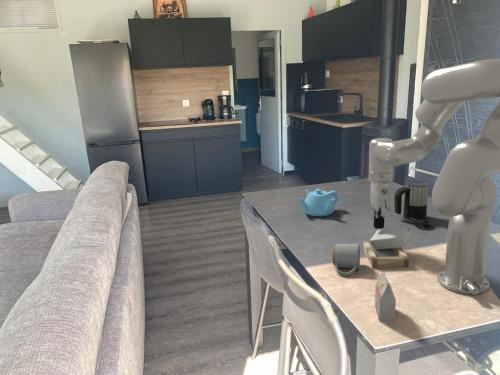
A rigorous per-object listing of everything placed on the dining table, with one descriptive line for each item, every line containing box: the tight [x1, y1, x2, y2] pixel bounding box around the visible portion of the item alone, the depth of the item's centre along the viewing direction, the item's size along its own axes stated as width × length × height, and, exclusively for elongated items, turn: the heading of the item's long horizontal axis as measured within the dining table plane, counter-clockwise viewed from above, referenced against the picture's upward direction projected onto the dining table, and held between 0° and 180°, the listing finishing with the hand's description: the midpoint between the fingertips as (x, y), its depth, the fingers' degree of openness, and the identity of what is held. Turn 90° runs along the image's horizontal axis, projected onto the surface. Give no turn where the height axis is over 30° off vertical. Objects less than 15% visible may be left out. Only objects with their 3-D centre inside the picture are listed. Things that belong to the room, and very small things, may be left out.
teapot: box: [297, 188, 339, 218], centre depth 169 cm, size 15×15×11 cm
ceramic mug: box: [331, 243, 361, 277], centre depth 119 cm, size 11×8×8 cm
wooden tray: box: [362, 240, 410, 269], centre depth 125 cm, size 14×11×3 cm
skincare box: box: [369, 225, 414, 250], centre depth 128 cm, size 6×4×12 cm
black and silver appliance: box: [393, 180, 433, 228], centre depth 152 cm, size 14×16×15 cm
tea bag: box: [374, 270, 397, 323], centre depth 95 cm, size 4×7×10 cm, turn 170°
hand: (378, 227), depth 132 cm, fingers closed
